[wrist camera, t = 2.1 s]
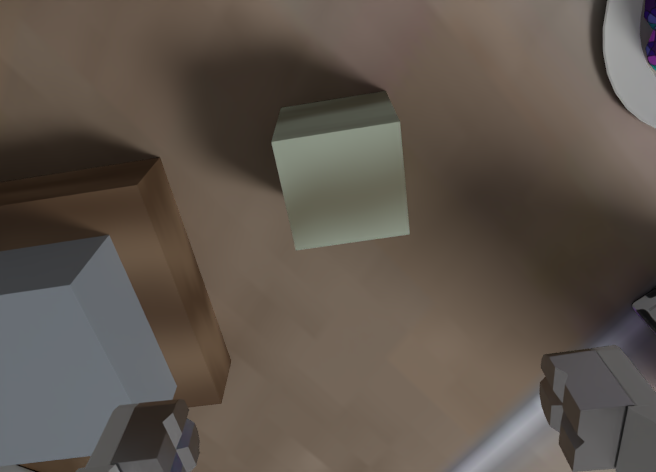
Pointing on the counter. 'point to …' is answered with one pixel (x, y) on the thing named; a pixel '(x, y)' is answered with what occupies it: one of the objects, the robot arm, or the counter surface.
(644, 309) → the candy box
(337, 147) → the sage block
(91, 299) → the grey slab
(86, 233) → the walnut slab
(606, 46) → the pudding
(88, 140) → the counter surface
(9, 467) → the supplement box
